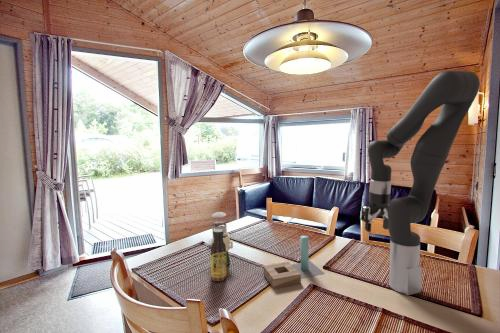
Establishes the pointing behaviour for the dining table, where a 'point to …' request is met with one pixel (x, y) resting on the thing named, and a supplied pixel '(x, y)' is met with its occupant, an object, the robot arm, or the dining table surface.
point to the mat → (311, 272)
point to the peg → (304, 253)
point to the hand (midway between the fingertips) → (376, 230)
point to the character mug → (227, 242)
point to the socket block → (282, 275)
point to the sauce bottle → (218, 257)
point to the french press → (218, 222)
